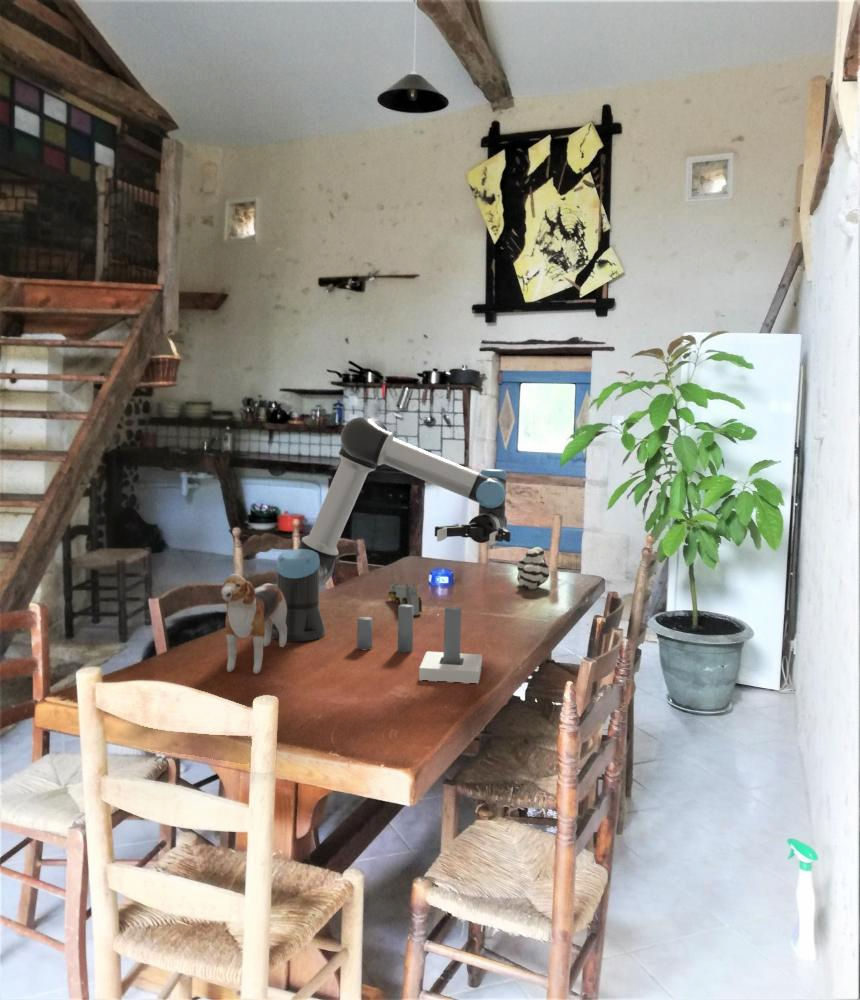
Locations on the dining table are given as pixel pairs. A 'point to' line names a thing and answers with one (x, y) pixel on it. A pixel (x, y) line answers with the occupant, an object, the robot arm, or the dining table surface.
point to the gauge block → (450, 668)
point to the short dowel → (364, 633)
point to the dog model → (252, 616)
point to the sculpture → (532, 569)
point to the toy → (406, 596)
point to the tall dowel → (452, 635)
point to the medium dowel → (405, 628)
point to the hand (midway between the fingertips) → (464, 537)
